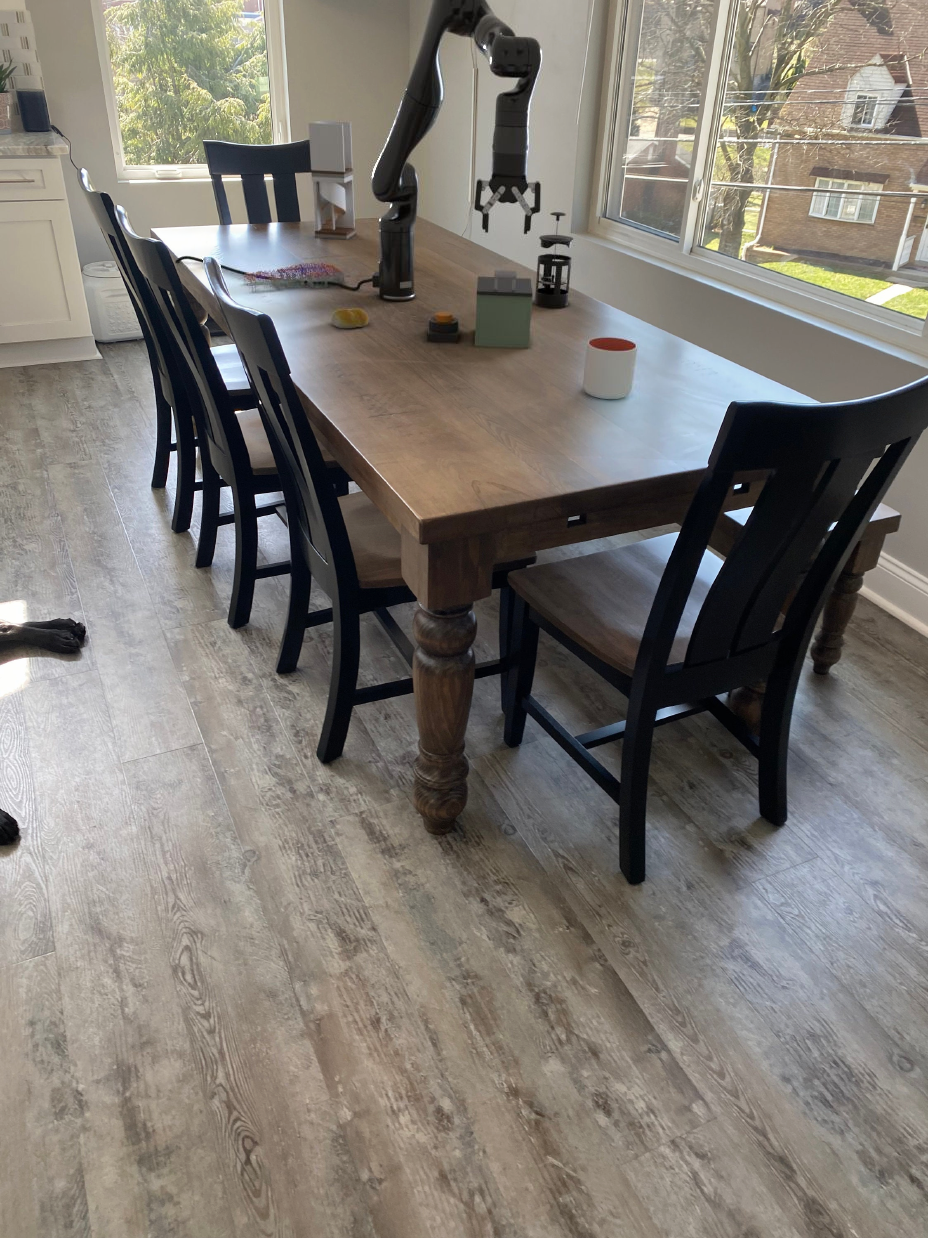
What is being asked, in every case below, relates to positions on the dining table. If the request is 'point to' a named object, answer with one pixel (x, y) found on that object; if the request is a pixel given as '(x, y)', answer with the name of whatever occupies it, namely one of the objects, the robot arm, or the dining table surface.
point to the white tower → (332, 178)
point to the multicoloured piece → (288, 278)
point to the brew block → (443, 331)
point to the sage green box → (503, 321)
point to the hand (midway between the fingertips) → (505, 232)
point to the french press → (555, 295)
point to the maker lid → (504, 285)
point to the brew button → (443, 317)
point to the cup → (609, 367)
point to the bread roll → (349, 318)
